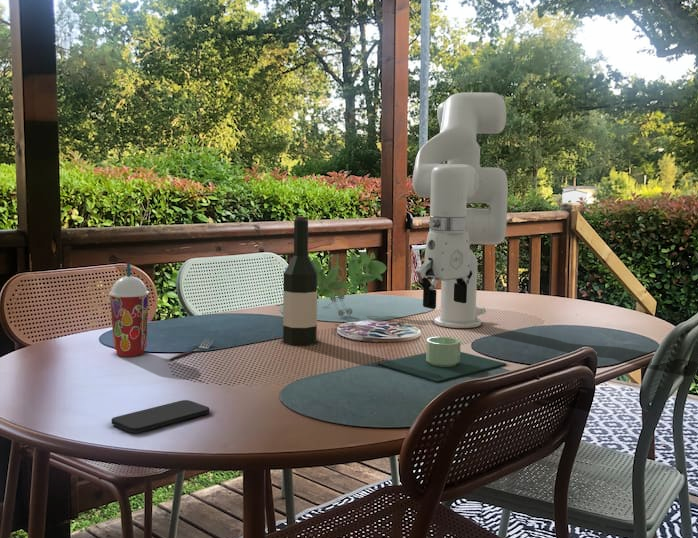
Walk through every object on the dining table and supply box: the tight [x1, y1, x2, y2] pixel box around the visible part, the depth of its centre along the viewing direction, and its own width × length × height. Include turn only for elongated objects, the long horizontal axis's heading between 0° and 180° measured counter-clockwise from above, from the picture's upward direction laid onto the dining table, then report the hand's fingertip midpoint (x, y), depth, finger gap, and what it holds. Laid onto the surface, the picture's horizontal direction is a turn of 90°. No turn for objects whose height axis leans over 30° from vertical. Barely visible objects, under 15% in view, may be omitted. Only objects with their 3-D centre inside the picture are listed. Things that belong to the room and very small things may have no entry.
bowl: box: [425, 336, 462, 367], centre depth 161 cm, size 7×7×5 cm
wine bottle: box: [282, 215, 318, 346], centre depth 179 cm, size 8×8×30 cm
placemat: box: [377, 351, 507, 383], centre depth 162 cm, size 22×17×1 cm
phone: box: [111, 399, 210, 433], centre depth 123 cm, size 7×1×15 cm
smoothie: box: [108, 263, 150, 357], centre depth 165 cm, size 8×8×20 cm
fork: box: [169, 337, 215, 361], centre depth 168 cm, size 3×16×2 cm, turn 159°
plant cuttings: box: [276, 251, 387, 319], centre depth 213 cm, size 35×17×22 cm
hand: (444, 304), depth 160 cm, fingers open, 9 cm apart
